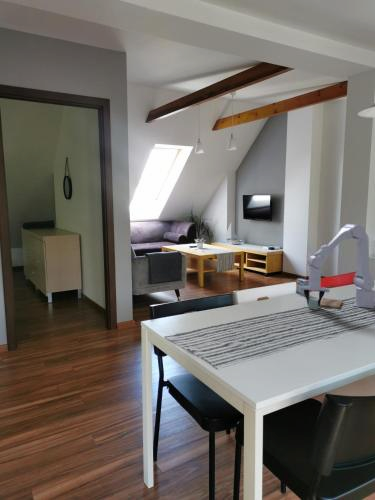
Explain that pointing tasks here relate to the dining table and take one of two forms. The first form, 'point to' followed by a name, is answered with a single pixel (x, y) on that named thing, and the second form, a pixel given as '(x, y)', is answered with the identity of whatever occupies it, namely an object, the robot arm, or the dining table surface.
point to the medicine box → (301, 283)
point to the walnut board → (331, 303)
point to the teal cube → (313, 303)
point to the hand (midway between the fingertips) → (313, 304)
